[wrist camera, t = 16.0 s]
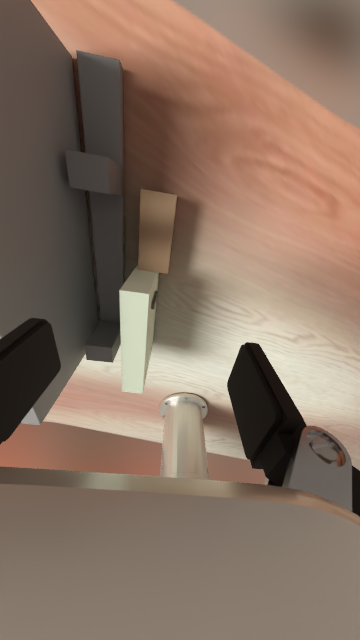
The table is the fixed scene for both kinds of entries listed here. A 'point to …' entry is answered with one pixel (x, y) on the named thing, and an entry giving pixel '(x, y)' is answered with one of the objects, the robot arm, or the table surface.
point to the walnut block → (156, 230)
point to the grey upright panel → (59, 193)
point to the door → (137, 327)
